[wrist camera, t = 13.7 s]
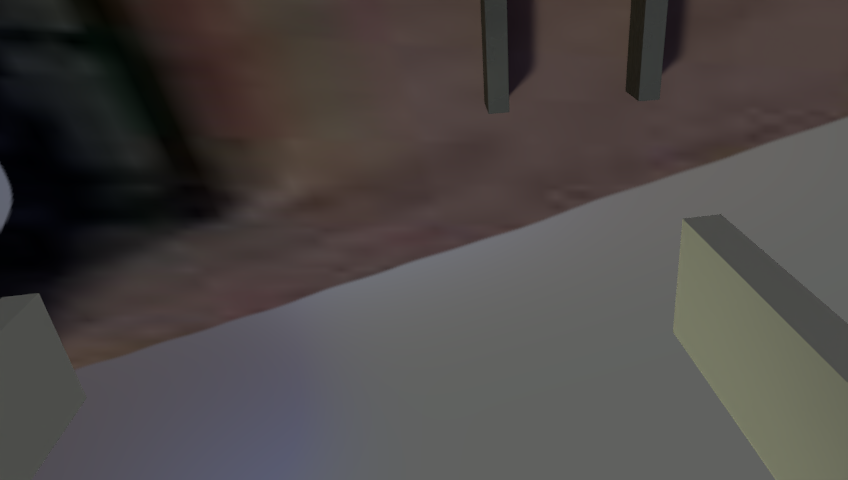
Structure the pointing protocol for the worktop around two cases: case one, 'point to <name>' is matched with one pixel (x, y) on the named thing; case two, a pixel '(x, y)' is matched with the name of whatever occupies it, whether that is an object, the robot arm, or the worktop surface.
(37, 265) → the worktop surface
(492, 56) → the lane
